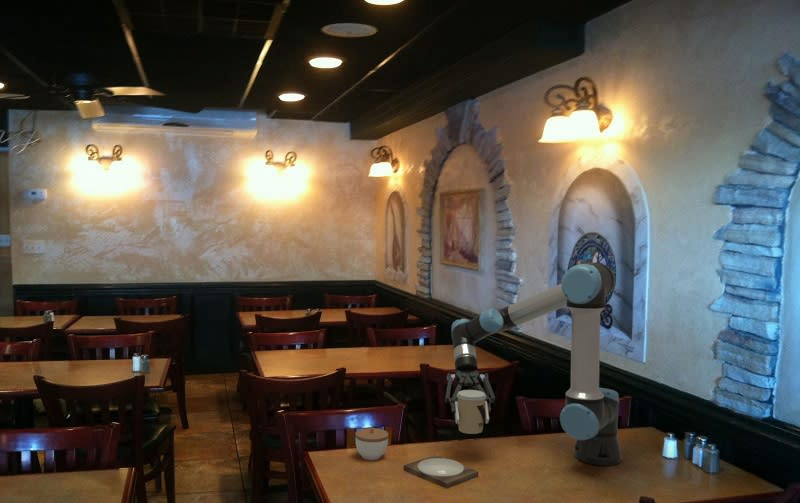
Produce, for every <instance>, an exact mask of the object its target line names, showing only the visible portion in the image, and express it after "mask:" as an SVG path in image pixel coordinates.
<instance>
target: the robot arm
mask: <svg viewBox="0 0 800 503" xmlns="http://www.w3.org/2000/svg"><path fill="white" fill-rule="evenodd" d="M615 285H616V278H615V274H614V272H613V270H612V269H611V268H610V267H609V266H608V265H607V264H605V263H602V262H590V263H589V262H588V263H580V264H576V265H574V266H572V267H570V268H569V269H568V270H567V271H566V272H565V273H564V274H563V277H562V279H561V283H559V284H557V285H554V286H552V287H550V288H548V289H546V290H545V289H544V290H543V291H540V292H539V293H536V294H533V295H532V296H529V297H526V298H524V299H523V300H520V301H519V300H518V301H517V302H515V303H512V304H510V305H508V306H505V307H503V308H500V309H497V310H496V309H495V308H489V309H487V310H485V311H483V312H482V313H480V314H478V315H477V316H475V317H474V318H472V319H471V320H469V319H468V318H460V319H456V320H455V321H453V322H452V324H451V333H450V334H451V340H452V346H453V360H454V369H455V372H454V374H451V373H449V372H448V373H447V376H446V380H447V381H446V382H447V386H446V392H445V396H444V398H445V399H444V403H446V404H449V405H450V409H451V411H450V412H451V413H452V414H454V418H455V424H457V425H458V422H459V412H458V402H457V394H458V392H459V391H462V390H461V389H462V387H472V388H473V390H477V391H481V392H484V393H485V395H486V399H485V411H484V422H485V423H484V424H489V421H490V416H489V414H491V410H492V407H491V406H492V405H491V404H493V403H495V401H496V396H495V393H494V390H493V388H492V386H491V383H490V380H489V374H488V373H484V374H483V373H481V374H480V372H479V369H478V367H479V366H478V360H477V353H476V351H477V350H476V343H477V342H479V341H481V340H482V339H485V338H486V337H488V336H490V335H495V334H498V333H501V332H504V331H509V330H512V329H513V328H515V327H517V326H520V325H522V324H525V323H527V322H529V321H532V320H535V319H538V318H540V317H542V316H545V315H548V314H550V313H552V312H554V311H557V310H560V309H562V308H565V307H566V308H567V309H568V310H569V311H570V313H571V332H570V333H571V336H570V337H571V338H570V339H571V340H570V346H571V347H570V388H569V389H568V390H566V392H565V403H564V404H565V406H564V407H563V408H561V409H562V410H561V411H560V414H559V422H560V426H561V428H562V429H563V431H564V432H565V433H566V435H568V437H571V438H572V439H575V440H576V443H575V445H574V448H573V456H574V457H575V458H576V460H578V461H580V462H583V463H587V464H590V465H595V466H607V467H608V466H616V465H618V464H620V463H621V462H622V458H623V455H622V454H623V453H622V450H621V446H620V443H619V439H618V424H619V423H618V422H619V421H618V420H619V403H620V398H619V396H620V395H619V393H618V392H617V391H616V390H614V389H609V388H603V387H600V355H601V354H600V350H601V346H600V340H601V313H602V312H603V311H604V310H605V309H606V299H607V298H606V297H607V296H609V294H611V293H612V292H613V290H614V288H615ZM454 379H455V380H456V381H457V382H458V384H457V386H456V388H455V391H454V393H453V394H452V397H450V396H451V390H452V383H453V382H454ZM480 379H481V381H482V383H483V386H484V388H483V387H482V386H481V384H480V381H479V380H480Z"/></svg>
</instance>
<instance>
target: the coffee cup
mask: <svg viewBox="0 0 800 503" xmlns="http://www.w3.org/2000/svg"><path fill="white" fill-rule="evenodd" d="M485 393H486V392H485ZM485 393H484V392H481V391H477V390H476V389H463V390H460V391H459V392H458V394H457V399H456V401H457V402H458V412H459V422H458V424H457V426H458V431H459V432H461V433H463V434H470V435H471V434H472V435H474V434H475V435H476V434H481V433H483V429H484V422H485V415H484V411H485V399H486V395H485Z"/></svg>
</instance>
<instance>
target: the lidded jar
mask: <svg viewBox="0 0 800 503" xmlns="http://www.w3.org/2000/svg"><path fill="white" fill-rule="evenodd" d="M354 435H355V447H356V450H357V452H358V454H359V455H360V456H361V457H362V459H364V460H367V461H376V460H379V459H381V457H382V456H383V455H385V453H386V451H387V449H388V443H389V432H388V431H387V430H385V429H382V428H374V427H368V428H360V429H359V430H356V432H355V434H354Z"/></svg>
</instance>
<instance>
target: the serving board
mask: <svg viewBox="0 0 800 503" xmlns="http://www.w3.org/2000/svg"><path fill="white" fill-rule="evenodd" d="M403 471H404V472H407V473H409V474H412V475H414V476H417V477H419V478H422V479H423V480H426V481H428V482H431V483H433V484H436V485H438V486H440V487H443V488H445V489H449V488H452V487H455V486H456V485H459V484H462V483H465V482H467V481H469V480H472V479H475V478H477V477H479V471H478V470H475V469H473V468H471V467H468V466H465V465H464V464H462V463H461V462H459V461H456V460H454V459H451V458H443V457H442V456H438V455H436V454H435V455H430V456H429V457H425V458H423V459H422V458H421V459H419V460H416V461H413V462H410V463H406V464H404V465H403Z"/></svg>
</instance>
